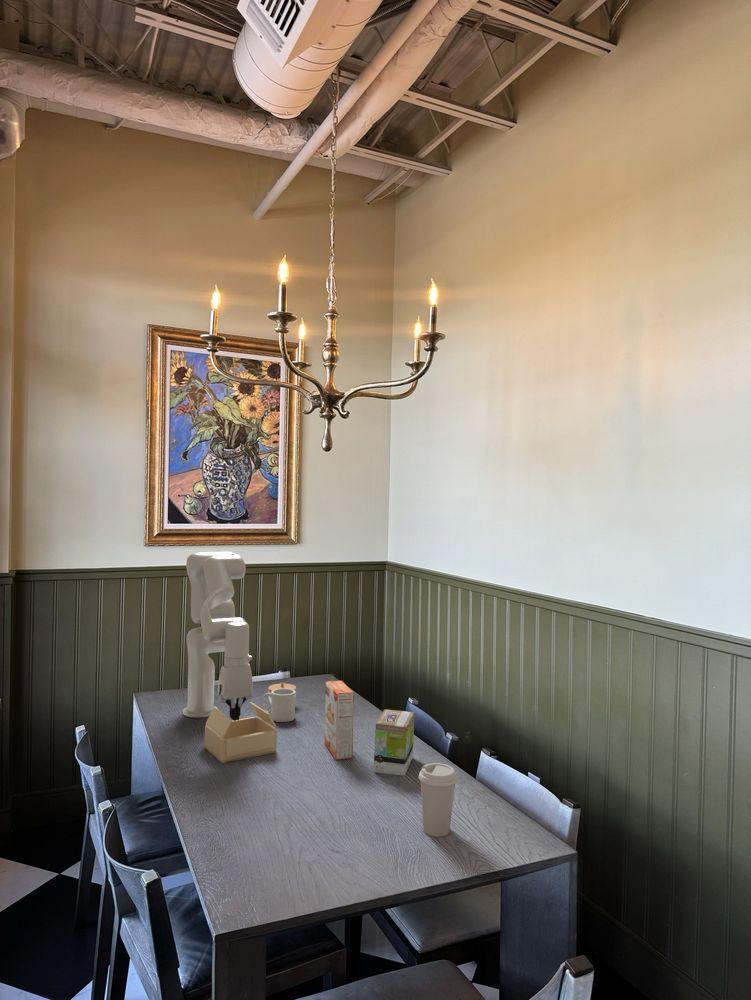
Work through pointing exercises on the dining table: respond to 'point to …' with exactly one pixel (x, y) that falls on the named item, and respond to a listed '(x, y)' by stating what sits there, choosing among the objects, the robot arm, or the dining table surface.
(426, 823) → the coffee cup
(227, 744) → the carton
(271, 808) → the dining table surface
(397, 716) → the tea box
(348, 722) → the cracker box
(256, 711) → the flap far
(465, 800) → the dining table surface
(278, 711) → the mug
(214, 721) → the flap near
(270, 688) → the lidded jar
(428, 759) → the dining table surface
